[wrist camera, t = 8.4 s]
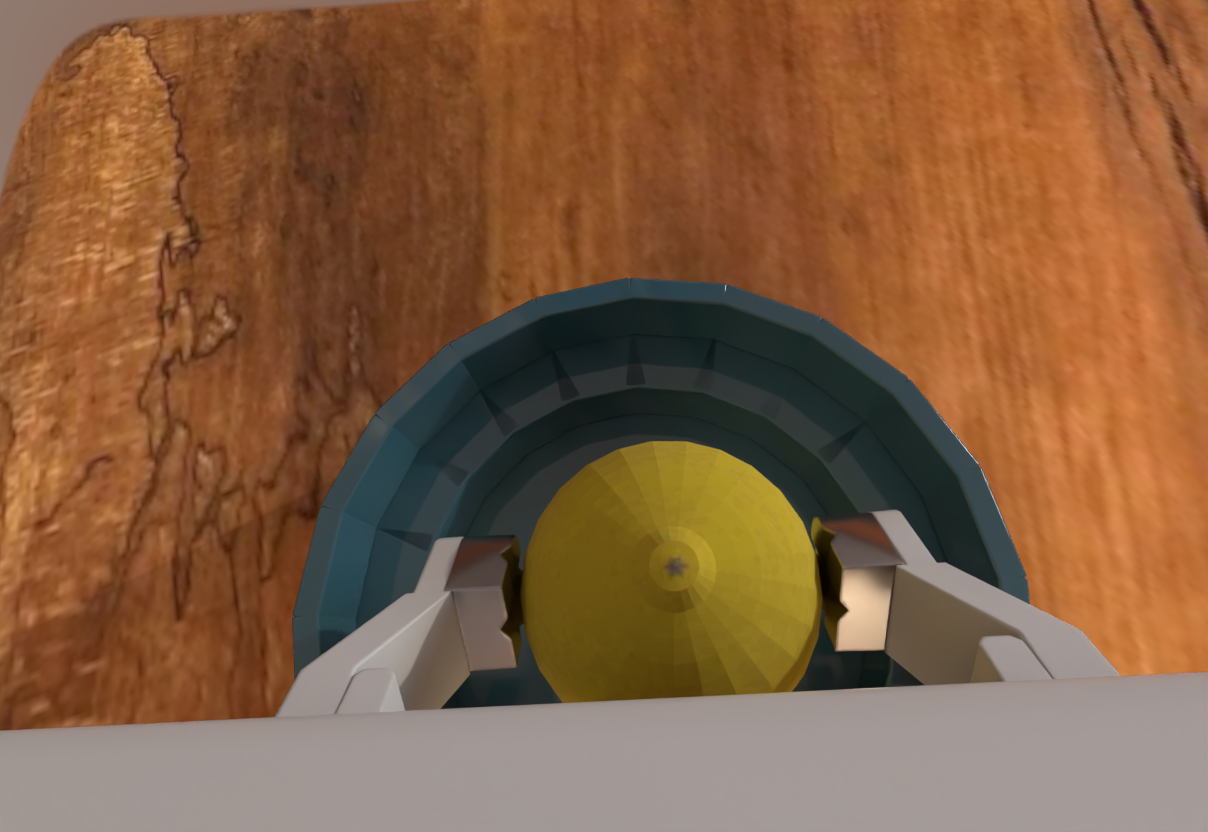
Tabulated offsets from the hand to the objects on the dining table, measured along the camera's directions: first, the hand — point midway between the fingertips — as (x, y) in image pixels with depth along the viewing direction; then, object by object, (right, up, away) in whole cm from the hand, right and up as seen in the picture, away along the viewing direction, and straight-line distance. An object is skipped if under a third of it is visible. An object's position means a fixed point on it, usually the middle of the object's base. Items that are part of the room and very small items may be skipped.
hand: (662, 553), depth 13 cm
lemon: (0, -2, +4) cm, 5 cm away
